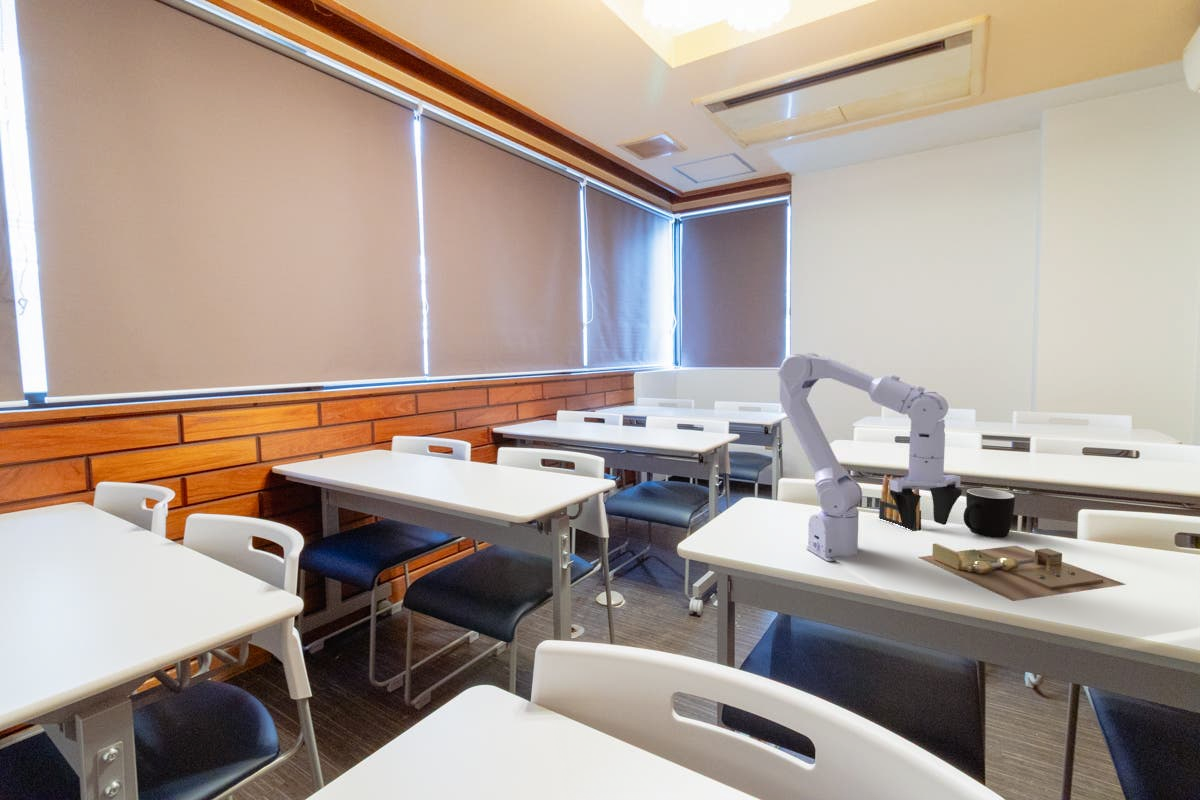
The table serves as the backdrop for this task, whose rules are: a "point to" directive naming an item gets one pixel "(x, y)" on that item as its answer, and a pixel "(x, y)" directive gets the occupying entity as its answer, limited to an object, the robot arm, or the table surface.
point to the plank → (1011, 584)
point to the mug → (989, 512)
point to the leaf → (975, 560)
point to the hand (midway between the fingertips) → (924, 524)
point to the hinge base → (1055, 572)
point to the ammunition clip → (895, 507)
